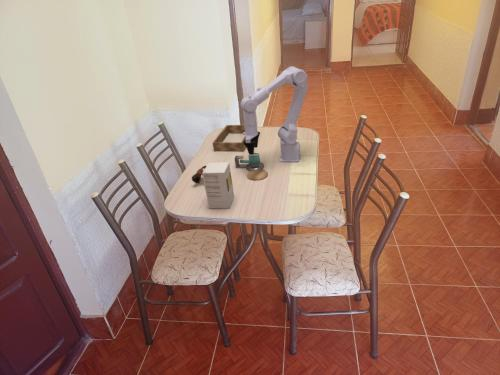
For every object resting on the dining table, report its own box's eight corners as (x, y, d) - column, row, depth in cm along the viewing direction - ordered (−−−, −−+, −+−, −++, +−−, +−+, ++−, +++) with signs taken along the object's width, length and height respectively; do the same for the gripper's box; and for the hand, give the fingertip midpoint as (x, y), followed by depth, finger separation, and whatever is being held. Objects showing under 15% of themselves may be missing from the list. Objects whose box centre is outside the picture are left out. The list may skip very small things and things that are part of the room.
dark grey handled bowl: (265, 163, 178) (265, 153, 175) (262, 171, 170) (261, 161, 167) (238, 162, 181) (237, 152, 178) (234, 170, 174) (232, 160, 171)
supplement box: (230, 209, 146) (224, 173, 137) (208, 208, 148) (201, 173, 139) (234, 196, 154) (229, 161, 145) (214, 196, 156) (207, 162, 147)
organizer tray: (254, 132, 213) (253, 124, 211) (243, 151, 192) (242, 143, 189) (227, 132, 217) (226, 125, 215) (213, 151, 196) (212, 143, 194)
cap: (260, 160, 175) (260, 152, 173) (258, 165, 171) (257, 156, 169) (241, 159, 178) (240, 151, 176) (238, 164, 174) (237, 156, 171)
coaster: (269, 170, 171) (269, 169, 170) (265, 180, 162) (265, 179, 162) (249, 169, 173) (249, 168, 173) (244, 180, 165) (244, 179, 165)
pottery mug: (203, 175, 175) (208, 162, 170) (215, 187, 171) (221, 175, 167) (184, 180, 166) (190, 167, 161) (197, 193, 162) (203, 180, 158)
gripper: (246, 118, 171) (248, 144, 178) (237, 129, 159) (241, 157, 166) (260, 118, 169) (262, 144, 176) (253, 129, 157) (256, 157, 164)
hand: (253, 150), depth 171 cm, fingers open, 7 cm apart
